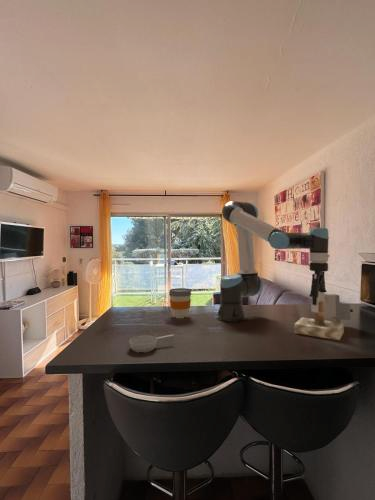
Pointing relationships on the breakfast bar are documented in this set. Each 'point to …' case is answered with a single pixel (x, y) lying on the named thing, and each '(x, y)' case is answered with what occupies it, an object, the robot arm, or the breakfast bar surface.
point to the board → (319, 328)
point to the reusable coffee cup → (180, 302)
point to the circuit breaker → (336, 308)
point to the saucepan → (145, 343)
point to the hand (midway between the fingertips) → (318, 309)
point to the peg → (319, 314)
